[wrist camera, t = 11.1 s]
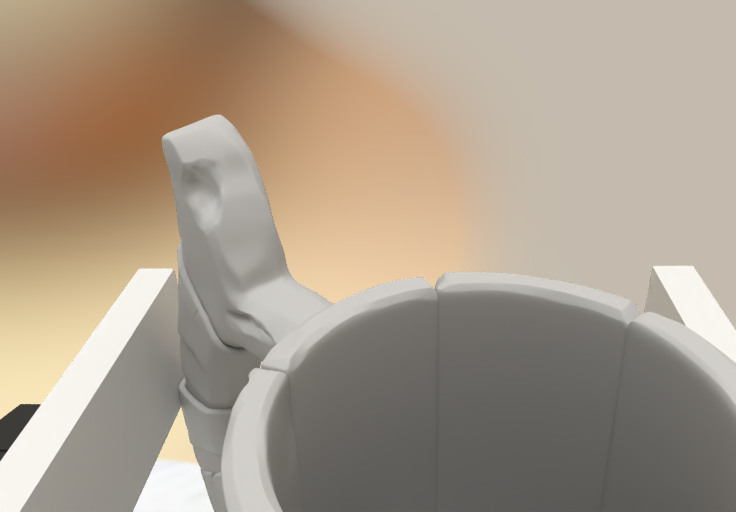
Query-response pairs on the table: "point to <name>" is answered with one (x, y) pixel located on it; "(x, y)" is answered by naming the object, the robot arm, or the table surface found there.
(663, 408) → the mug
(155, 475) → the table surface
